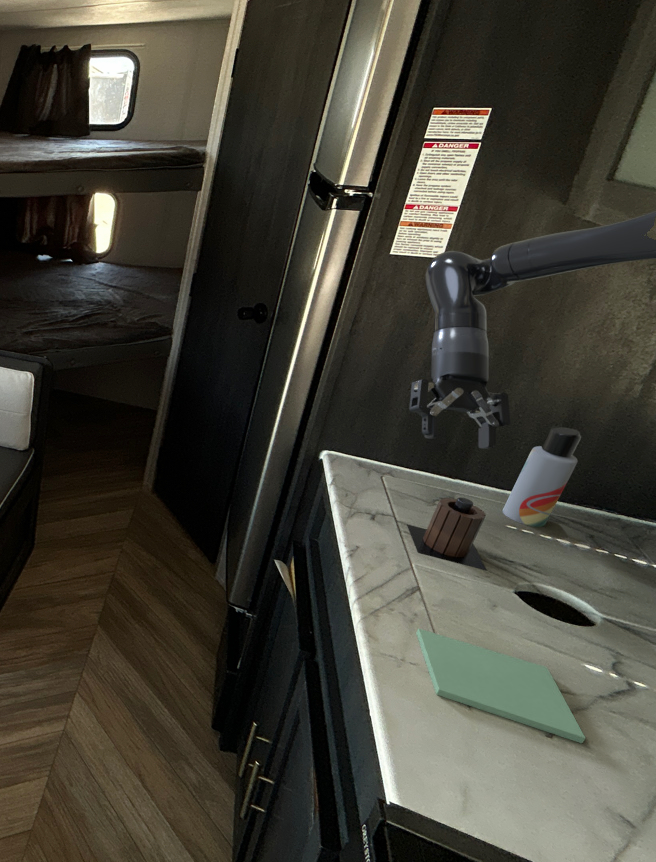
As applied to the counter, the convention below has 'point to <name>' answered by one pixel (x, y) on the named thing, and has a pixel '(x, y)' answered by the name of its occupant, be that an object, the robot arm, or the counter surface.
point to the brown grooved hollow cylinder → (453, 529)
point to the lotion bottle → (543, 478)
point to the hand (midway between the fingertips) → (458, 443)
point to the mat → (498, 684)
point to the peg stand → (421, 547)
